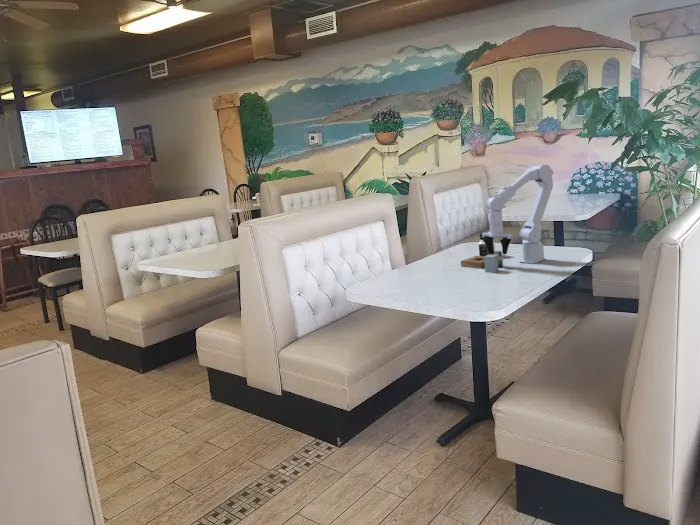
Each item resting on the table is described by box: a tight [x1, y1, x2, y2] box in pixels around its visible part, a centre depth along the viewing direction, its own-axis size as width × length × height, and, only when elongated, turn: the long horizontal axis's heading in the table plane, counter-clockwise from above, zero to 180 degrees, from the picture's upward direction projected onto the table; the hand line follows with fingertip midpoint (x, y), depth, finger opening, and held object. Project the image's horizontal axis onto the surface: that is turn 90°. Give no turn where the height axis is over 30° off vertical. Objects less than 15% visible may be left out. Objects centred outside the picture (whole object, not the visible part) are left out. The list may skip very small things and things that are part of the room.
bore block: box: [460, 255, 485, 269], centre depth 264 cm, size 12×12×3 cm
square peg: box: [484, 255, 499, 273], centre depth 249 cm, size 4×4×7 cm
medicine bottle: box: [478, 231, 496, 256], centre depth 280 cm, size 7×7×12 cm
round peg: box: [494, 250, 504, 269], centre depth 255 cm, size 4×4×7 cm
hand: (497, 253), depth 255 cm, fingers open, 7 cm apart
